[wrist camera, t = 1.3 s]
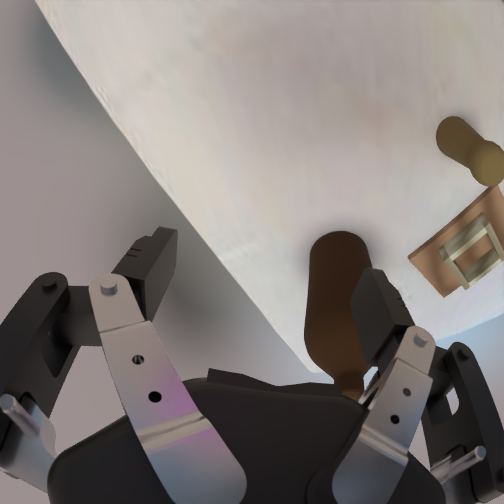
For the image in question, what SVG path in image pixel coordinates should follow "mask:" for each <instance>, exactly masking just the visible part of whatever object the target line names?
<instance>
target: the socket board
mask: <svg viewBox="0 0 504 504" xmlns="http://www.w3.org/2000/svg"><path fill="white" fill-rule="evenodd" d="M408 258H409V261H410V262H411V263H412V264H413V265H414V266H415V267H416V268H417V269H418V270H419V271H420V272H421V273H422V274H423V275H424V277H425V278H426V279H427V280H428V281H429V282H430V283H431V284H432V285H433V286H434V287H435V289H436V290H437V291H438V292H439V293H440V294H441V295H442V296H443V298H444V297H446V296H447V295H449V294H450V293H451V292H453V291H454V290H456V289H457V288H458V287H460V286H461V285H462V286H463V288H464V289H465V290H466V289H468V288H469V287H470V286H472V285H473V284H474V283H476V282H477V281H478V280H480V279H481V278H482V277H484V276H485V275H486V274H487V273H489V272H490V271H491V270H492V269H494V268H495V267H496V266H497V265H498V264H500V263H501V262H502V261H503V260H504V197H503V195H502V193H501V191H500V189H499V187H498V185H495V186H491V187H489V188H488V189H486V190H485V191H484V192H483V193H482V194H481V195H480V196H479V197H478V198H477V199H476V200H475V201H474V202H472V203H471V204H470V205H469V206H468V207H467V208H466V209H465V210H464V211H462V212H461V213H460V214H459V215H458V216H457V217H456V218H454V219H453V220H452V221H451V222H450V223H449V224H447V225H446V226H445V227H444V228H443V229H441V230H440V231H439V232H438V233H437V234H435V235H434V236H433V237H432V238H430V239H429V240H428V241H427V242H426V243H424V244H423V245H422V246H421V247H419V248H418V249H417V250H415V251H414V252H413V253H412V254H410V255H409V256H408Z"/></svg>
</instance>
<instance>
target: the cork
mask: <svg viewBox="0 0 504 504" xmlns="http://www.w3.org/2000/svg"><path fill="white" fill-rule="evenodd" d="M436 140H437V145H438V147H439V149H440V151H441V152H442V153H444V154H445V155H446V156H448V157H450V158H452V159H453V160H455V161H457V162H459V163H460V164H462V165H464V166H465V167H467V168H469V169H470V171H471V173H472V175H473V177H474V178H475V179H476V180H477V181H478V182H479V183H481V184H482V185H484V186H490V187H491V186H495V185H498V184H499V183H500V182H501V181H502V180H503V179H504V151H503V150H502V149H501V147H500V146H499V145H497V144H496V143H494V142H492V141H487V140H484V139H483V138H482V137H481V136H480V135H479V134H478V133H477V132H476V131H475V130H474V129H473V128H472V127H471V126H470V125H469V124H467V123H466V122H465V121H464V120H463V119H461V118H459V117H455V116H452V117H447V118H446V119H444V120H443V121H442V122H441V123H440V125H439V127H438V129H437V133H436Z"/></svg>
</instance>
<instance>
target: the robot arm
mask: <svg viewBox="0 0 504 504" xmlns="http://www.w3.org/2000/svg"><path fill="white" fill-rule="evenodd" d="M502 1H503V2H504V0H502ZM177 237H178V232H177V230H176V229H171V228H165V227H158V228H157V230H156V231H155V233H154V234H153V235H152V237H150V236H144V237H142V238H140V239H138V240H136V241H135V243H134V244H133V245H132V246H131V248H130V249H129V250H128V252H127V253H126V255H124V257H123V258H122V259H121V261H120V262H119V263H118V264H117V266H116V267H115V269H114V270H113V271H112V272H111V274H103V275H100V276H98V277H96V278H95V279H93V280H92V281H91V283H90V285H89V286H68V281H67V278H66V277H65V276H64V275H63V274H61V273H57V272H49V273H45V274H43V275H41V276H39V277H38V278H36V279H35V280H34V282H33V283H32V284H31V285H30V286H29V288H28V289H27V290H26V292H25V293H24V294H23V295H22V297H21V298H20V299H19V300H18V302H17V303H16V304H15V306H14V307H13V308H12V310H11V311H10V312H9V314H8V315H7V317H6V318H5V319H4V321H3V322H2V324H1V325H0V471H2V472H4V473H6V474H7V475H9V476H11V477H13V478H15V479H21V480H23V481H25V482H27V483H28V484H30V485H32V486H34V487H36V488H38V489H40V490H42V491H43V492H45V493H48V496H49V500H50V504H485V503H487V502H489V501H491V500H493V499H495V498H497V497H499V496H500V495H502V494H504V430H503V426H502V423H501V420H500V418H499V414H498V412H497V409H496V406H495V404H494V401H493V398H492V396H491V393H490V390H489V388H488V386H487V383H486V381H485V378H484V376H483V374H482V371H481V369H480V367H479V365H478V362H477V360H476V358H475V356H474V354H473V352H472V351H471V349H470V348H469V347H467V346H466V345H465V344H463V343H461V342H454V343H453V344H452V345H451V346H450V347H449V349H448V350H446V349H443V348H440V347H438V346H436V344H435V340H434V338H433V337H432V335H431V334H430V333H429V332H428V331H426V330H425V329H423V328H421V327H418V326H415V324H414V321H413V319H412V317H411V315H410V313H409V311H408V309H407V307H405V306H406V305H405V303H404V301H403V300H402V297H401V295H400V293H399V292H398V290H397V289H396V288H395V287H394V286H393V285H392V284H391V283H390V282H389V280H388V279H387V277H386V275H385V273H384V271H383V270H379V269H374V268H369V267H367V268H365V269H364V271H363V273H362V275H361V277H360V280H359V282H358V284H357V286H356V288H355V290H354V292H353V295H352V297H351V302H350V308H351V312H352V315H353V319H354V322H355V326H356V329H357V333H358V336H359V340H360V343H361V347H362V351H363V354H364V358H365V362H366V366H374V367H378V370H377V372H376V373H375V375H374V376H373V378H372V380H371V381H370V383H369V385H368V386H367V388H366V390H365V391H364V393H363V395H362V396H361V398H360V399H359V401H358V402H357V401H356V400H354V399H352V398H350V397H347V396H345V395H342V394H341V390H340V384H324V383H323V384H322V383H311V382H309V383H302V384H295V385H286V386H275V385H271V384H269V383H266V382H263V381H260V380H257V379H255V378H252V377H249V376H246V375H244V374H239V373H232V372H227V371H221V370H216V369H211V368H209V371H208V376H207V378H195V379H190V380H185V381H181V379H180V377H179V376H178V374H177V372H176V370H175V368H174V366H173V365H172V363H171V361H170V359H169V357H168V355H167V353H166V351H165V349H164V347H163V345H162V343H161V342H160V340H159V337H158V335H157V333H156V331H155V329H154V327H153V325H152V320H153V318H154V316H155V314H156V312H157V309H158V307H159V305H160V303H161V301H162V298H163V296H164V294H165V292H166V290H167V288H168V285H169V283H170V281H171V279H172V277H173V274H174V271H175V266H176V252H177ZM81 346H102V348H103V351H104V354H105V358H106V361H107V364H108V367H109V370H110V373H111V376H112V379H113V382H114V385H115V387H116V390H117V393H118V395H119V398H120V400H121V403H122V406H123V409H124V411H125V413H126V415H124V416H123V417H121V418H120V419H118V420H116V421H115V422H113V423H111V424H110V425H108V426H106V427H105V428H103V429H101V430H100V431H98V432H96V433H95V434H93V435H91V436H89V437H88V438H86V439H84V440H82V441H81V442H79V443H77V444H75V445H73V446H72V447H70V448H68V449H66V450H64V451H63V452H62V453H61V454H59V456H58V457H57V456H56V453H55V448H54V447H55V446H54V444H55V438H56V434H55V429H54V426H53V424H52V423H51V421H50V420H49V417H50V415H51V412H52V409H53V407H54V405H55V402H56V400H57V397H58V394H59V393H60V390H61V388H62V385H63V383H64V381H65V379H66V376H67V374H68V372H69V370H70V368H71V365H72V363H73V361H74V359H75V357H76V355H77V353H78V351H79V349H80V347H81ZM453 388H455V391H456V394H457V396H458V399H459V407H458V410H457V411H456V413H455V414H453V415H452V413H451V410H450V406H449V403H448V400H447V397H446V395H447V394H448V392H450V391H451V390H452V389H453ZM420 419H421V421H422V426H423V431H424V436H425V440H426V445H427V450H428V456H429V462H430V468H431V469H430V472H429V471H428V470H427V469H426V468H425V467H424V466H423V465H422V464H421V463H420V462H419V461H418V460H417V459H416V458H415V457H414V456H413V455H412V454H411V453H410V452H409V451H408V449H409V447H410V444H411V442H412V439H413V437H414V434H415V432H416V429H417V427H418V424H419V421H420Z"/></svg>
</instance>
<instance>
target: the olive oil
mask: <svg viewBox="0 0 504 504" xmlns="http://www.w3.org/2000/svg"><path fill="white" fill-rule="evenodd" d="M367 267H369V268H372V264H371V260H370V257H369V254H368V250H367V247H366V245H365V243H364V242H363V241H362V239H360V238H359V237H358V236H356V235H354V234H352V233H348V232H333V233H329V234H327V235H325V236H323V237H321V238H320V239H319V240H317V241H316V243H315V244H314V245H313V247H312V249H311V252H310V265H309V284H308V297H307V308H306V317H305V327H304V341H305V345H306V349H307V352H308V354H309V356H310V358H311V359H312V361H313V362H314V363H315V364H316V365H317V366H319V367H320V368H321V369H322V370H323V371H325V372H326V373H327V374H328V375H330V376H331V377H332V378H333V379H334V384H340V390H341V394H342V395H345V396H347V397H350V398H352V399H354V400H356V401H357V402H358V401H359V399H360V398H361V396H362V395H363V393H364V380H363V377H364V375H365V374H366V373H367V372H368V370H369V369H370V368H371V367H372V366H366V362H365V358H364V354H363V351H362V347H361V343H360V340H359V336H358V333H357V329H356V326H355V322H354V319H353V315H352V312H351V308H350V302H351V297H352V295H353V292H354V290H355V288H356V286H357V284H358V282H359V280H360V277H361V275H362V273H363V271H364V269H365V268H367Z"/></svg>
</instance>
